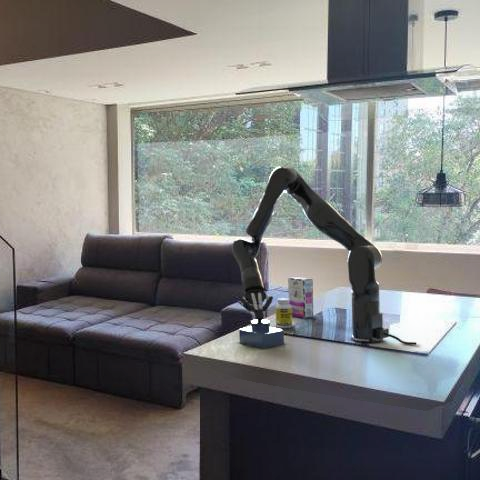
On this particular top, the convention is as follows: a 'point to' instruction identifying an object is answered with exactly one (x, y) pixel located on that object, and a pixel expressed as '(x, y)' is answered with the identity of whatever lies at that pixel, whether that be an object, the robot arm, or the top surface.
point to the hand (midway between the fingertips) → (260, 319)
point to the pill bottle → (283, 313)
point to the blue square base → (261, 335)
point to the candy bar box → (301, 296)
